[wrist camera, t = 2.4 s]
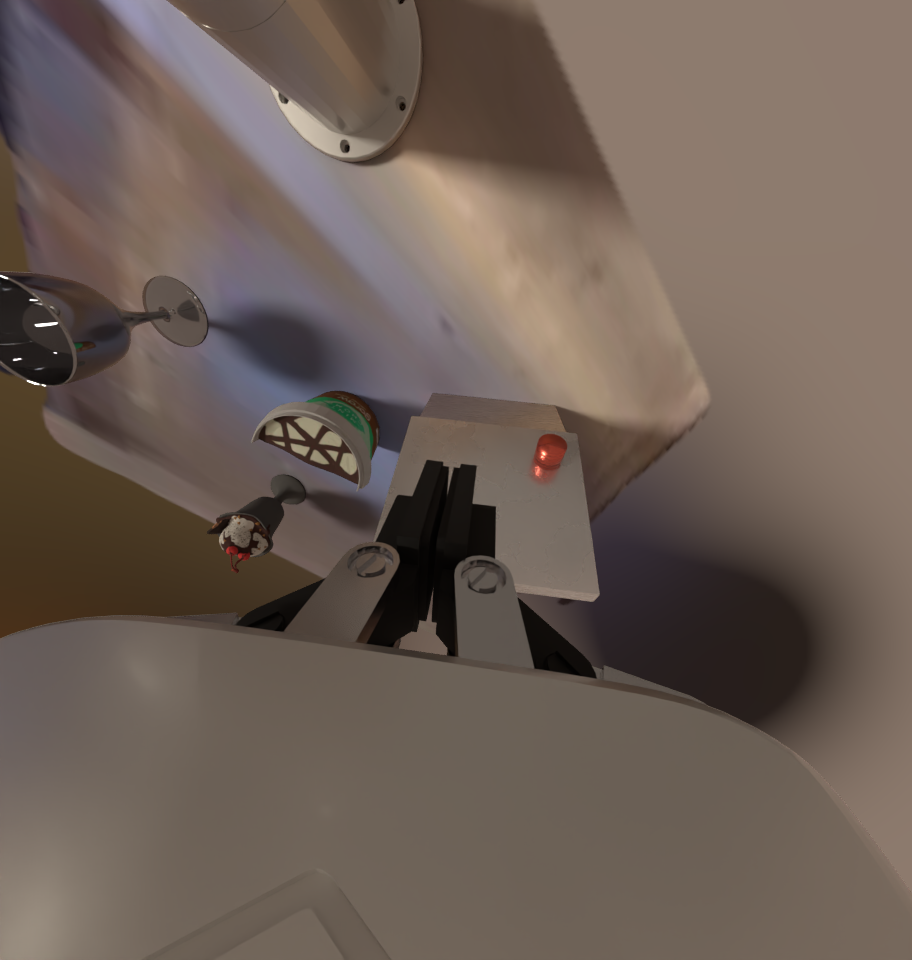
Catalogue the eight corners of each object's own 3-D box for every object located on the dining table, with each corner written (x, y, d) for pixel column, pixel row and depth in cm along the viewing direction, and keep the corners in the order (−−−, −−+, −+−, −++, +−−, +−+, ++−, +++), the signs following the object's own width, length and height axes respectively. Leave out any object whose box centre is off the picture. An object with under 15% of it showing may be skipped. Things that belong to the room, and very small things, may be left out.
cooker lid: (412, 426, 32) (410, 399, 30) (573, 443, 31) (583, 417, 29) (339, 675, 19) (324, 663, 17) (607, 714, 18) (630, 707, 16)
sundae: (318, 507, 51) (257, 586, 38) (276, 510, 52) (203, 588, 39) (301, 467, 48) (229, 539, 35) (257, 471, 49) (171, 542, 36)
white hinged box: (432, 392, 41) (415, 425, 32) (554, 405, 40) (570, 442, 31) (427, 528, 51) (413, 580, 42) (524, 540, 50) (529, 596, 42)
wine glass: (208, 284, 37) (55, 292, 24) (214, 359, 41) (86, 399, 28) (132, 260, 37) (-65, 255, 24) (145, 338, 41) (-16, 369, 28)
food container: (406, 410, 42) (382, 446, 34) (387, 451, 45) (362, 493, 37) (307, 360, 40) (256, 385, 32) (295, 406, 43) (245, 440, 35)
